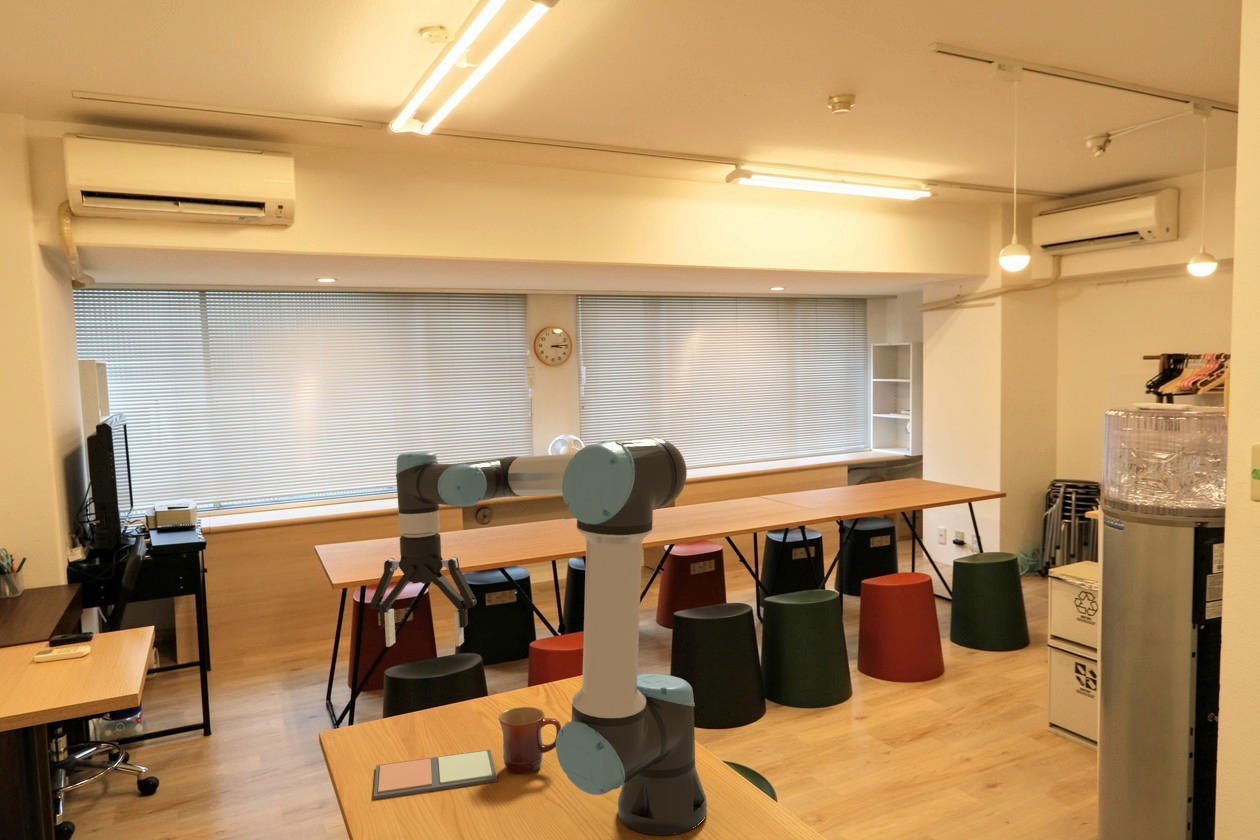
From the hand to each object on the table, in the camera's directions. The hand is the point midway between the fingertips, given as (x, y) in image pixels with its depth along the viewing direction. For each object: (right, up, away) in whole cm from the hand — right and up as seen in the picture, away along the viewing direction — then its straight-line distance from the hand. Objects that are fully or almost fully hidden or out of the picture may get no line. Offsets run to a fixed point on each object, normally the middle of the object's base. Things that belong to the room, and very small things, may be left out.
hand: (425, 644), depth 160 cm
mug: (+20, -24, +2) cm, 32 cm away
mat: (+2, -25, 0) cm, 25 cm away
